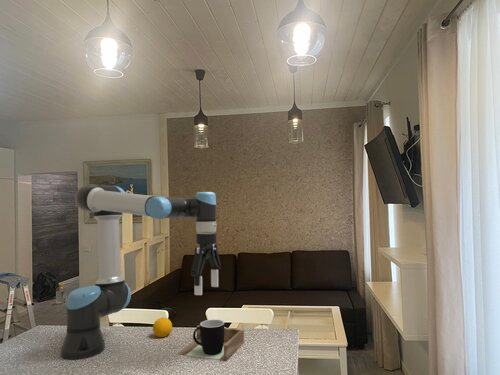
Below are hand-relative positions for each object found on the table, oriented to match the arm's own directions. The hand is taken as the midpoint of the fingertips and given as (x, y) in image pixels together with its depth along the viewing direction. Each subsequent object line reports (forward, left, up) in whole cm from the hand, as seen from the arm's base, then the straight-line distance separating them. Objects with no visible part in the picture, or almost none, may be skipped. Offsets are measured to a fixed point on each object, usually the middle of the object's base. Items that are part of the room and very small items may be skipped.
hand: (206, 290), depth 129 cm
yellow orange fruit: (-27, +12, -23) cm, 38 cm away
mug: (+1, -1, -22) cm, 22 cm away
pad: (+1, 0, -22) cm, 22 cm away
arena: (0, +3, -23) cm, 23 cm away
